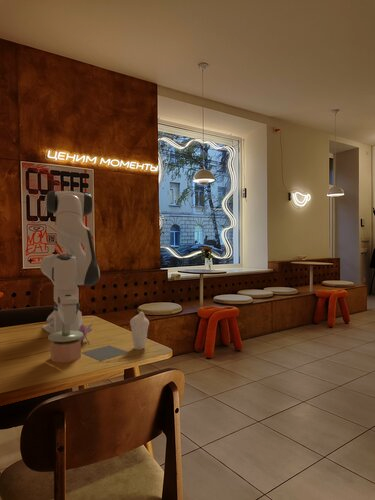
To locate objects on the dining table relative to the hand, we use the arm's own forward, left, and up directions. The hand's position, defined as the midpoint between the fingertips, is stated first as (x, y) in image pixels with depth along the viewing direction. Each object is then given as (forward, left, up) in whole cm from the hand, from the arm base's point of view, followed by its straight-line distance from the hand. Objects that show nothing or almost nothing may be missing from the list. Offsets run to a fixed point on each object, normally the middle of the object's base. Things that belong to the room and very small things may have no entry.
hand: (65, 331), depth 140 cm
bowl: (0, 0, -11) cm, 11 cm away
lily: (-12, +15, -11) cm, 22 cm away
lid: (0, 0, -2) cm, 2 cm away
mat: (+6, +14, -11) cm, 19 cm away
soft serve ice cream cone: (+11, +28, -11) cm, 32 cm away
